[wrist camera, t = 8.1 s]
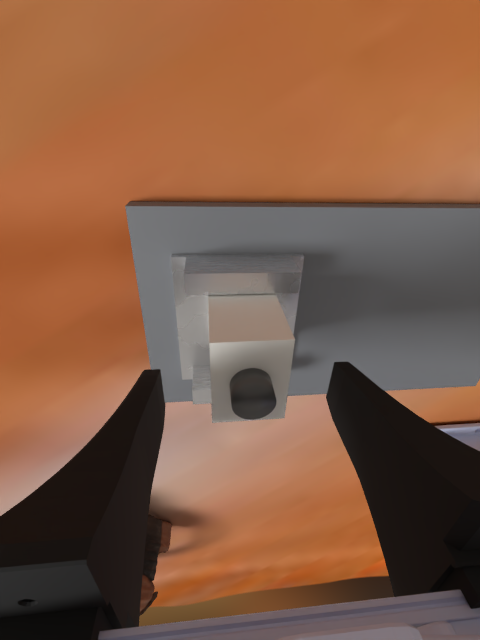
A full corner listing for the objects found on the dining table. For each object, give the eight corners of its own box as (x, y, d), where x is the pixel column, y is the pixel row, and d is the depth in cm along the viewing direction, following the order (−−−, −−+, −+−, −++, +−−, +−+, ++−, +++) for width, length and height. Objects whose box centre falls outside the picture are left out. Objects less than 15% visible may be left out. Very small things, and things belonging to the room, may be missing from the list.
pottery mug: (195, 528, 32) (164, 640, 27) (125, 506, 36) (87, 600, 31) (122, 507, 23) (58, 665, 18) (40, 480, 27) (-30, 605, 22)
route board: (555, 204, 17) (574, 208, 16) (465, 376, 23) (475, 385, 22) (129, 201, 15) (125, 206, 14) (158, 391, 21) (156, 402, 20)
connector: (268, 276, 16) (302, 357, 10) (263, 341, 18) (289, 438, 12) (207, 277, 15) (209, 361, 10) (209, 343, 18) (212, 443, 12)
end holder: (302, 253, 16) (316, 272, 14) (286, 370, 20) (295, 398, 18) (171, 254, 15) (166, 274, 13) (182, 375, 19) (179, 405, 17)
